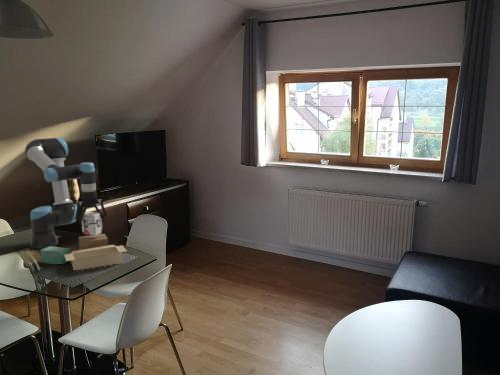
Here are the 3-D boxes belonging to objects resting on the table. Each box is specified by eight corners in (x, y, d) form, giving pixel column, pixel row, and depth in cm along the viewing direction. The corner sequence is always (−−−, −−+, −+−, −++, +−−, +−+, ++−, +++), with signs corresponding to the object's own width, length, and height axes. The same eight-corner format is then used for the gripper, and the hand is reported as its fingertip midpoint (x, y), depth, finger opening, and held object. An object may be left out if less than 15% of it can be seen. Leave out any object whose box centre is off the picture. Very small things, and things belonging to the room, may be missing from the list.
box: (62, 265, 219) (61, 251, 218) (41, 263, 223) (39, 250, 222) (71, 260, 226) (70, 247, 225) (50, 258, 230) (49, 246, 228)
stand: (80, 254, 236) (78, 237, 234) (105, 250, 243) (104, 233, 241) (82, 259, 228) (80, 242, 226) (108, 255, 234) (107, 238, 232)
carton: (64, 263, 222) (63, 249, 221) (121, 253, 236) (120, 240, 235) (67, 274, 206) (66, 260, 205) (129, 263, 220) (128, 249, 219)
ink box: (83, 234, 232) (81, 213, 230) (89, 231, 236) (87, 211, 234) (96, 235, 229) (94, 214, 227) (101, 233, 234) (100, 212, 232)
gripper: (68, 193, 220) (72, 234, 224) (110, 189, 230) (113, 229, 234) (67, 191, 227) (70, 231, 231) (108, 187, 237) (111, 226, 241)
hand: (92, 230), depth 232 cm, fingers closed on ink box, 9 cm apart
